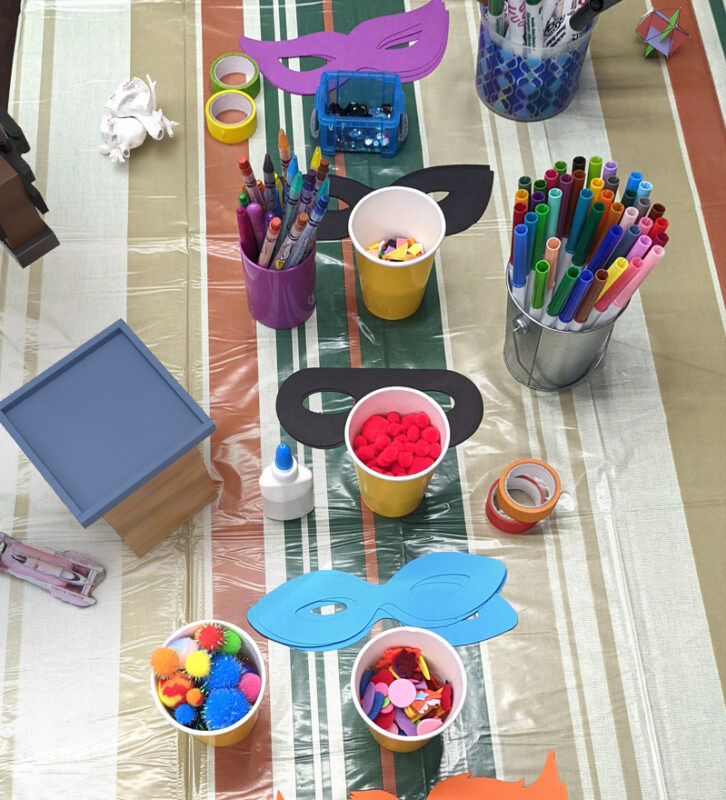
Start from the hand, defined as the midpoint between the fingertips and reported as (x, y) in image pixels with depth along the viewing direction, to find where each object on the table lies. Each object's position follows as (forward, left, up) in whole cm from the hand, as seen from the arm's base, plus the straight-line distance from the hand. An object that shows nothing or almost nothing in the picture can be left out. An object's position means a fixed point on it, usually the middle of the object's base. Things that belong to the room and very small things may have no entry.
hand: (20, 216), depth 84 cm
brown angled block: (-5, +3, -7) cm, 9 cm away
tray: (+12, -13, -12) cm, 21 cm away
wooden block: (+12, -13, -32) cm, 36 cm away
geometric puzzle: (+55, +77, -32) cm, 100 cm away
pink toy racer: (+5, -26, -32) cm, 42 cm away
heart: (-12, +36, -32) cm, 50 cm away
